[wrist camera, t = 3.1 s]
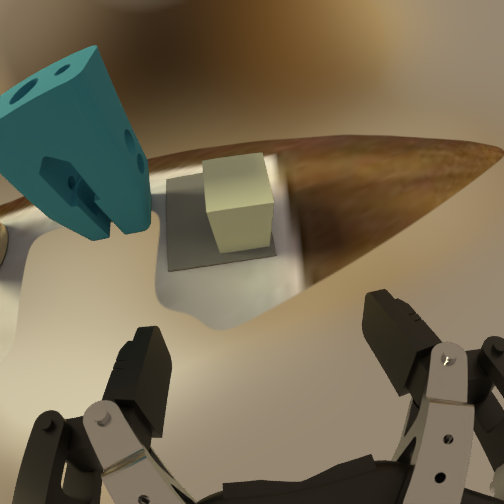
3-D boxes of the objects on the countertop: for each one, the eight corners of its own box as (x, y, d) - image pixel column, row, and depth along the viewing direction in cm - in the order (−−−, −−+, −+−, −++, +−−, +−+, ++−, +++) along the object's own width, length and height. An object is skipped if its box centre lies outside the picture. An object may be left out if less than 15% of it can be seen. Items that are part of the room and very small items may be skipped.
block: (165, 189, 31) (100, 42, 13) (165, 227, 30) (79, 76, 11) (81, 209, 31) (-10, 103, 12) (76, 244, 29) (-35, 144, 10)
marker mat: (168, 271, 28) (168, 270, 27) (166, 180, 32) (166, 179, 32) (275, 255, 28) (276, 254, 28) (257, 165, 32) (257, 164, 32)
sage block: (220, 253, 28) (206, 212, 20) (215, 210, 30) (202, 160, 22) (269, 246, 28) (274, 202, 20) (261, 204, 30) (262, 152, 22)
